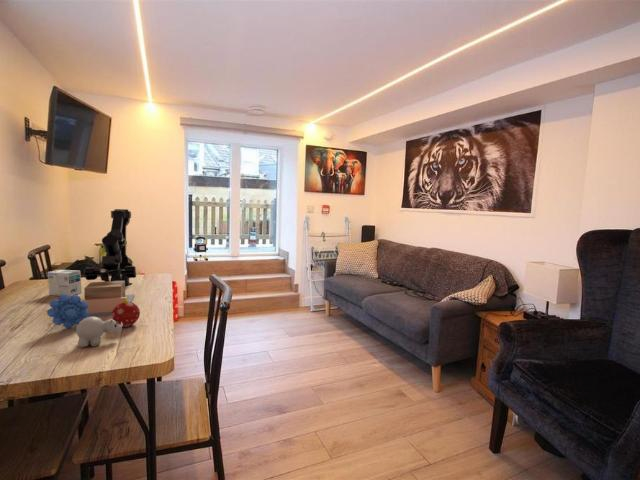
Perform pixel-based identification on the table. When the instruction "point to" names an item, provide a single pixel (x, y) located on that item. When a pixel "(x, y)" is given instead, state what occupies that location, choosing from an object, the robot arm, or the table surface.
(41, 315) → the table surface
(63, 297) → the blue lumpy rosette
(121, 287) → the walnut slab
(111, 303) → the stop bar
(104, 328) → the round bodied animal figurine
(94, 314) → the slate board
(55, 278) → the light bulb box
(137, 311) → the christmas ornament
